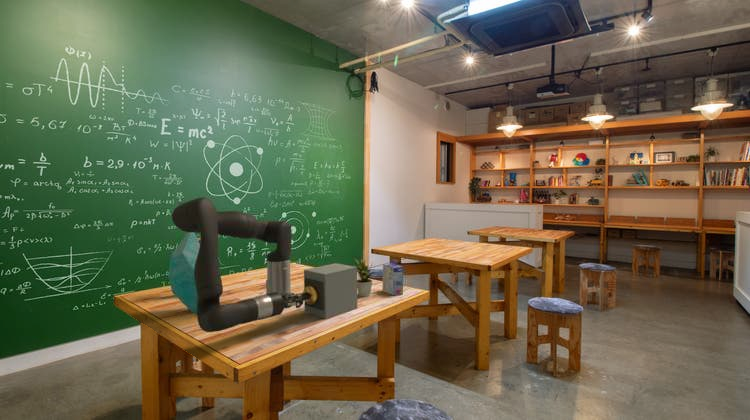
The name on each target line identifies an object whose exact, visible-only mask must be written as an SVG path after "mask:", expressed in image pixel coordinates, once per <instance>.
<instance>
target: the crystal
mask: <svg viewBox="0 0 750 420" xmlns="http://www.w3.org/2000/svg"><path fill="white" fill-rule="evenodd" d="M197 238H198V237H197V235H196V233H190V232H186V234H185V236H184V237H183V239H182V240H181V241H180V242H179V244H178V246H177V247H176V249H174V251H172V253H171V255H170V259H169V267H168V272H167V274H168V275H167V277H168V280H169V285H170V288H171V293H172V294H173V296H175V297H176V298H177V299H178V300H179V301H180V302H181V303H182V304H184V306H185V307H186V308H187V309H188V310H189V312H191V311H192V312H191V313H193V312H195V313H197V300H198V295H197V290H196V285H195V279H194V267H195V263H196V259H197V256H198V252H199V248H200V244H199V242H198V239H197Z"/></svg>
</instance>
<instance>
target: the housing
mask: <svg viewBox="0 0 750 420" xmlns="http://www.w3.org/2000/svg"><path fill="white" fill-rule="evenodd" d="M354 266H355V265H353V266H352V265H346V264H342V263H336V262H335V263H331V264H326V265H321V266H317V267H316V266H315V267H311V268H307V269H306V268H305V269H303V279H304V278H307V279H311V280H316V281H320V282H323V285H324V310H323V311H322V310H319V309H315V308H312V307H309V306H306V305H305V304H304V313H306V314H310V315H313V316H315V317H318V318H322V319H324V320H327V319H330V318H333V317H336V316H339V315H341V314H345V313H347V312H351V311H353V310H357V309H358V289H357V280H358V275H357V274H358V273H357V270H358V268H357V266H355V267H354Z"/></svg>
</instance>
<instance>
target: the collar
mask: <svg viewBox="0 0 750 420" xmlns="http://www.w3.org/2000/svg"><path fill="white" fill-rule="evenodd" d="M303 285H304V286H303V289H304V288H305V287H307V286H311V285H313V286H315V287H316V288H317V290H318V293H319V299H318V301H317V302H316V303H314V304H307V303H306V301H305V300H304V306H305V305H306V306H309V307H312V308H315V309H319V310H322V311H323V310H324V285H323V282H320V281H316V280H311V279H307V278H304V277H303Z"/></svg>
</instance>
